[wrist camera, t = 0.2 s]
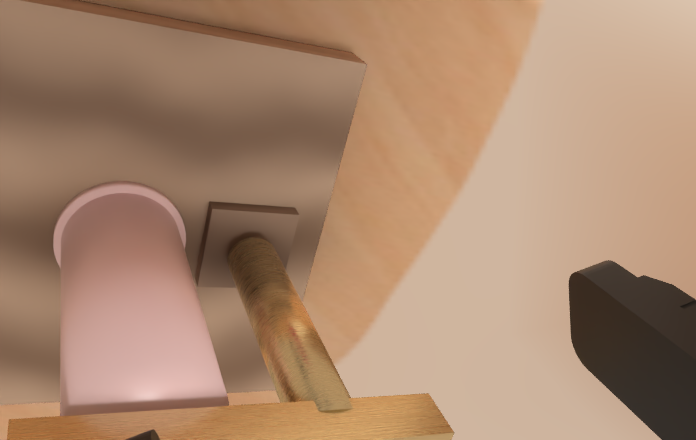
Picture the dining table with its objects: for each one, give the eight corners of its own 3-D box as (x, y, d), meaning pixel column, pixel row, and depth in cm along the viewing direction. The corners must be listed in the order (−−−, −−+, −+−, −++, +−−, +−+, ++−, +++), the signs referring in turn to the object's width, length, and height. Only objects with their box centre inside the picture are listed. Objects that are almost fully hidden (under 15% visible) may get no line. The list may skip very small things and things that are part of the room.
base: (-139, -41, 24) (-160, -28, 22) (352, 52, 33) (373, 69, 30) (-119, 382, 32) (-133, 424, 30) (269, 368, 41) (281, 399, 38)
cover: (58, 175, 28) (56, 353, 19) (192, 186, 31) (252, 349, 21) (49, 287, 31) (43, 497, 21) (174, 289, 33) (221, 477, 23)
